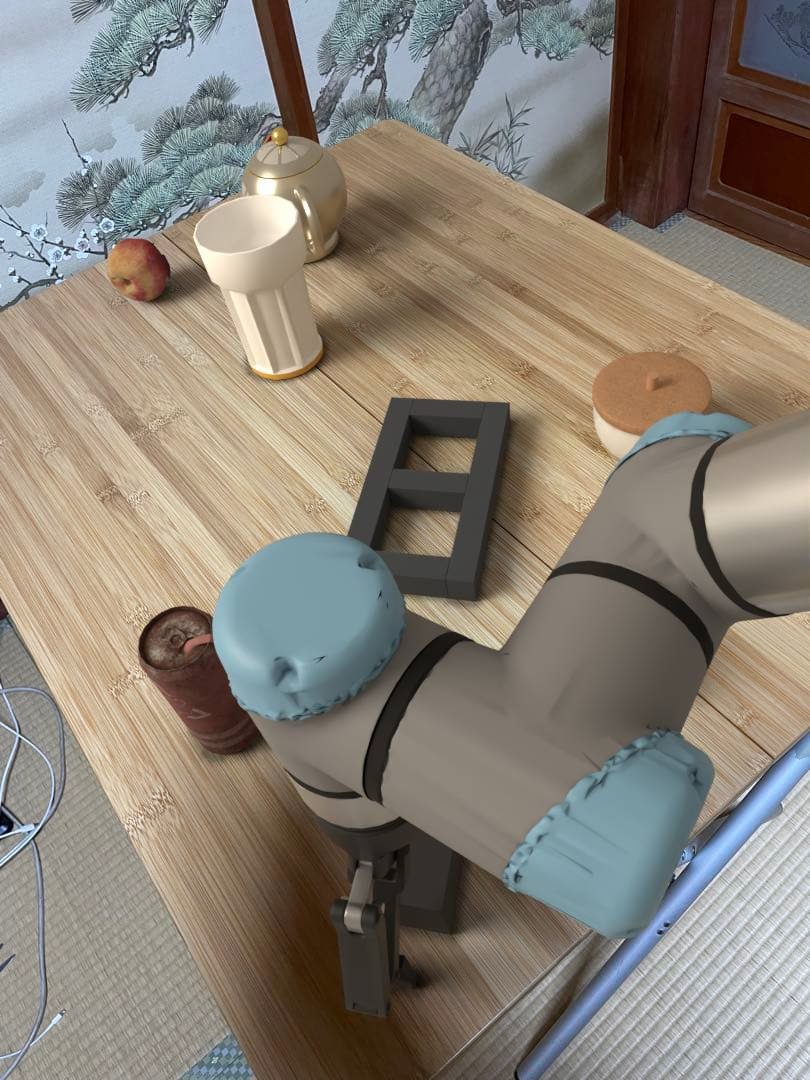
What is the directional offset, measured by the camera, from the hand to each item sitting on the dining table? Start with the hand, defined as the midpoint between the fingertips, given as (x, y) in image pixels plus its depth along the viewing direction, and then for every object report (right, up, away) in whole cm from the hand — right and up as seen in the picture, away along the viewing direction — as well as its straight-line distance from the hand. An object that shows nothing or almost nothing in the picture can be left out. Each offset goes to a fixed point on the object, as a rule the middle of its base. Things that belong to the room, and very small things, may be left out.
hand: (415, 882), depth 60 cm
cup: (-15, +47, +40) cm, 63 cm away
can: (-15, +9, +10) cm, 21 cm away
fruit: (-35, +57, +52) cm, 85 cm away
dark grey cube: (0, 0, 0) cm, 0 cm away
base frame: (+2, +29, +23) cm, 36 cm away
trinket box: (+23, +34, +23) cm, 47 cm away
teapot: (-13, +64, +53) cm, 84 cm away
